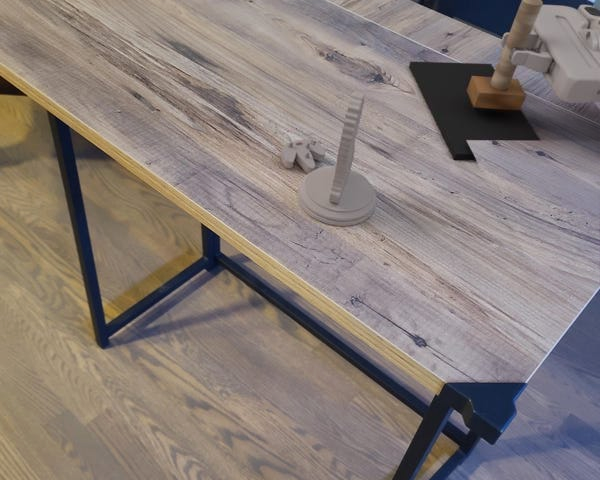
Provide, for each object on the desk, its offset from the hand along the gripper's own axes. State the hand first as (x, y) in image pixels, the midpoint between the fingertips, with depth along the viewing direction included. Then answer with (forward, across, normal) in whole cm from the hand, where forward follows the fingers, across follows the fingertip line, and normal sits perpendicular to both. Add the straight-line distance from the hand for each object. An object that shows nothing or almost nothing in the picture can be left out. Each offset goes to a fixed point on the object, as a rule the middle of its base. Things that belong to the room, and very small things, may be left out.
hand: (507, 48), depth 81 cm
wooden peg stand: (-1, 0, -8) cm, 9 cm away
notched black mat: (+1, +2, -11) cm, 11 cm away
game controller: (+29, -10, -11) cm, 33 cm away
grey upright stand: (+24, -20, -11) cm, 33 cm away
